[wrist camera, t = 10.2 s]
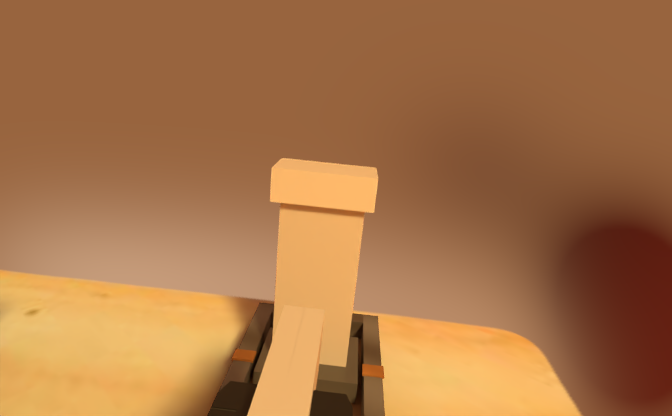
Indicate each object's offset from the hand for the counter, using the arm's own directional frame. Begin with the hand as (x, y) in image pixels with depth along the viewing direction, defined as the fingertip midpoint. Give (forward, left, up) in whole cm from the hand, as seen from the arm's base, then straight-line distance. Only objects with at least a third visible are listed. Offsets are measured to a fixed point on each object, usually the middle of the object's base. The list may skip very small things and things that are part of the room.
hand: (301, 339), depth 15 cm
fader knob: (-7, +9, -10) cm, 15 cm away
